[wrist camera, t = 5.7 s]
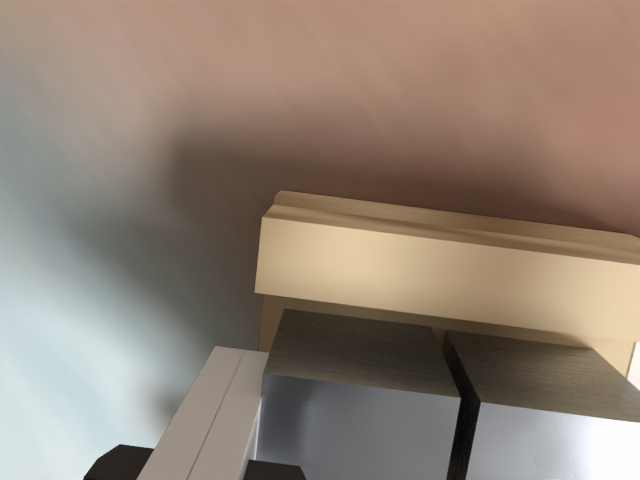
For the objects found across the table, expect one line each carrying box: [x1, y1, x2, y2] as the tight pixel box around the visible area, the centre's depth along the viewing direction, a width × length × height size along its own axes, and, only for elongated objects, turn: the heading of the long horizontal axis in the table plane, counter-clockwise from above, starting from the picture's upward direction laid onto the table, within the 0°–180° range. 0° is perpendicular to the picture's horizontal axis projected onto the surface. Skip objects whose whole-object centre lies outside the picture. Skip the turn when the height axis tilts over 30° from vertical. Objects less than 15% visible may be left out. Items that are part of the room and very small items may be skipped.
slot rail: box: [254, 190, 640, 377], centre depth 15 cm, size 10×10×4 cm
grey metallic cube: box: [255, 308, 461, 480], centre depth 14 cm, size 4×4×4 cm
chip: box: [442, 330, 640, 480], centre depth 13 cm, size 4×4×4 cm
